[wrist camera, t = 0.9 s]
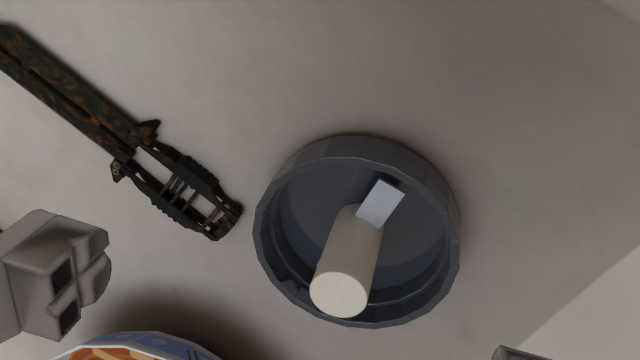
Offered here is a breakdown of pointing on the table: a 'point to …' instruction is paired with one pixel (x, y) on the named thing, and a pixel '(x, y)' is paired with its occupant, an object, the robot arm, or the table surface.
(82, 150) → the table surface
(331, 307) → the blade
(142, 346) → the ramen bowl
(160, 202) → the knife
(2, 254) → the robot arm
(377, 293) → the dark grey round dish
